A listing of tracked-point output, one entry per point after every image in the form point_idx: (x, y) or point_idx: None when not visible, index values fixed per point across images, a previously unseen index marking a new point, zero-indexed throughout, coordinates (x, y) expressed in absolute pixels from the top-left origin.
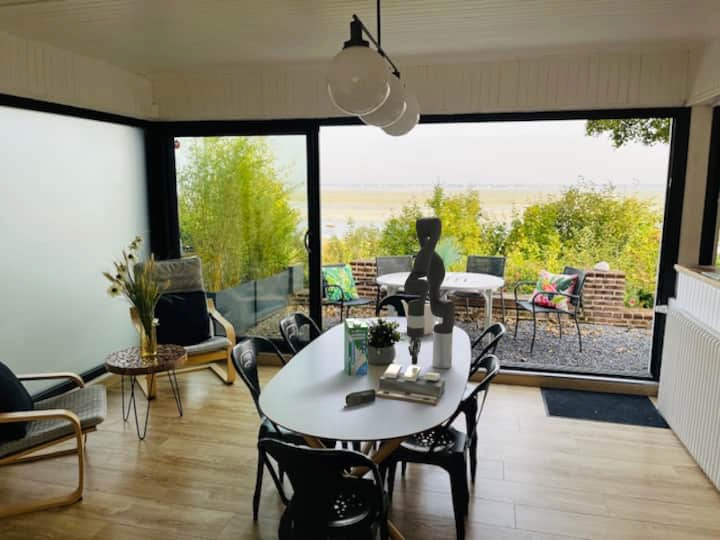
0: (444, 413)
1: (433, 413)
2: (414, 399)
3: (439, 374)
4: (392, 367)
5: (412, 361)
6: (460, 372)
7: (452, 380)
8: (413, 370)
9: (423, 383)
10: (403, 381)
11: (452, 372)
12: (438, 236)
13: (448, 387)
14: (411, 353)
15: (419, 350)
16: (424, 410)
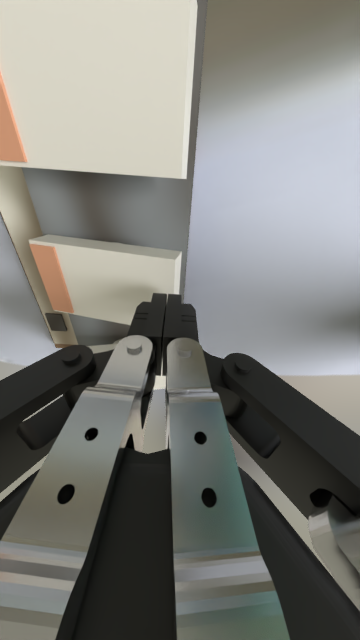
0: (28, 363)
1: (5, 342)
2: (33, 284)
3: (157, 388)
4: (100, 60)
5: (136, 313)
6: (352, 368)
7: (276, 357)
8: (122, 295)
9: (88, 328)
10: (48, 231)
11: (356, 350)
12: None
13: (213, 353)
14: (57, 382)
15: (243, 417)
16: (2, 320)
